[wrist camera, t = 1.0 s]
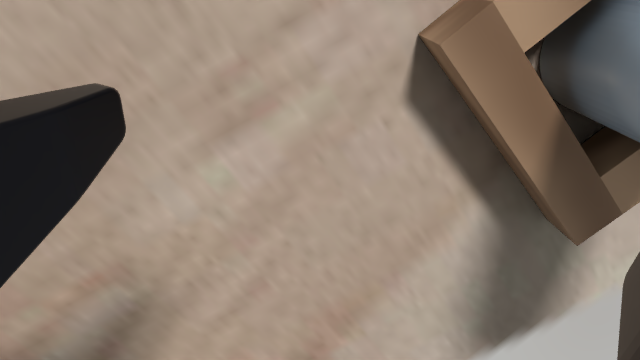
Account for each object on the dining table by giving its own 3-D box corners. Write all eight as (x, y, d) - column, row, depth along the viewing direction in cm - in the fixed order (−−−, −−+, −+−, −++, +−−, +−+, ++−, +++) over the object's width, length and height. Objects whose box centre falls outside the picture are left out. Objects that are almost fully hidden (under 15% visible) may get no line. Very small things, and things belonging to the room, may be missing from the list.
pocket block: (546, 218, 25) (577, 246, 23) (418, 34, 21) (439, 44, 18) (757, 67, 23) (813, 79, 21) (664, -168, 19) (721, -184, 17)
